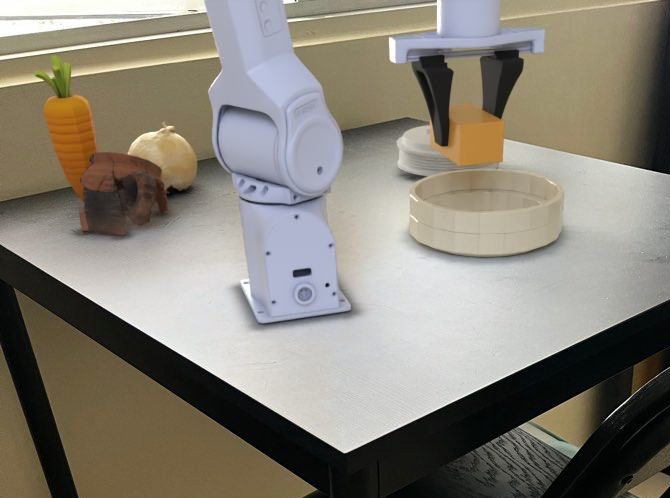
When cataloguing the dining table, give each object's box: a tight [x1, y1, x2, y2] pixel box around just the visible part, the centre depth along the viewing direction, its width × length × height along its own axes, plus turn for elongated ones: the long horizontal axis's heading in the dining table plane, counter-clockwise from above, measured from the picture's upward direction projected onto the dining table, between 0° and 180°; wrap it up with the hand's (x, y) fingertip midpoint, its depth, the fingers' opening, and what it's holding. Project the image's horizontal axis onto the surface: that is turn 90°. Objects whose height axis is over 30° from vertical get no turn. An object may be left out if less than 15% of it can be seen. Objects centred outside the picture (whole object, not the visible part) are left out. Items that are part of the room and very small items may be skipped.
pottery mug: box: [78, 151, 169, 236], centre depth 92 cm, size 12×10×8 cm
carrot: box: [34, 55, 99, 203], centre depth 95 cm, size 5×5×15 cm
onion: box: [127, 121, 198, 196], centre depth 102 cm, size 8×8×7 cm
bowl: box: [408, 168, 566, 258], centre depth 87 cm, size 15×15×4 cm
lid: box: [396, 124, 500, 177], centre depth 107 cm, size 13×13×5 cm
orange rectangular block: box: [429, 103, 505, 166], centre depth 84 cm, size 8×4×4 cm, turn 18°
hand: (465, 141), depth 85 cm, fingers closed on orange rectangular block, 4 cm apart
